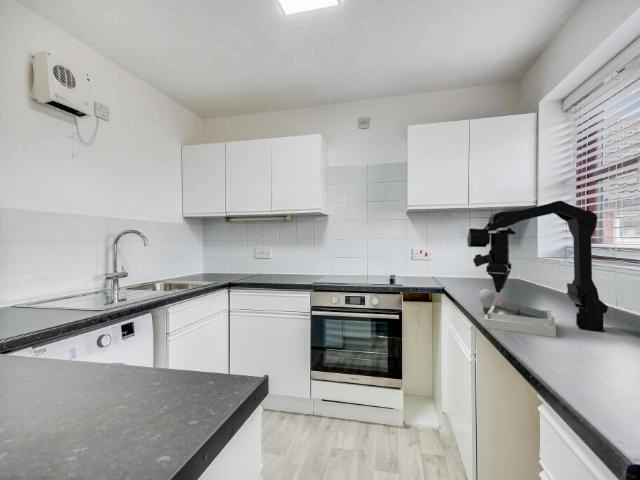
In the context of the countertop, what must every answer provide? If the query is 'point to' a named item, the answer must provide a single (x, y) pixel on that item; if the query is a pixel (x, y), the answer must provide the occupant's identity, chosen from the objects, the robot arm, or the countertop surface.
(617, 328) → the countertop surface
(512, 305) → the panel
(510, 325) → the breaker box
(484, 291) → the light bulb
